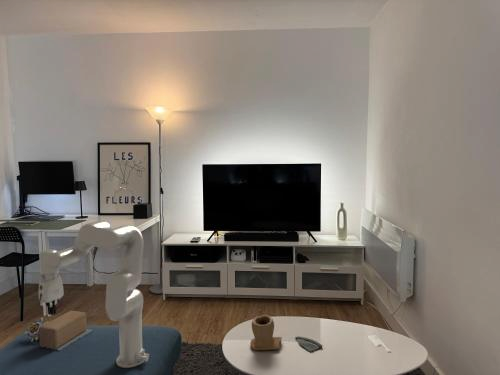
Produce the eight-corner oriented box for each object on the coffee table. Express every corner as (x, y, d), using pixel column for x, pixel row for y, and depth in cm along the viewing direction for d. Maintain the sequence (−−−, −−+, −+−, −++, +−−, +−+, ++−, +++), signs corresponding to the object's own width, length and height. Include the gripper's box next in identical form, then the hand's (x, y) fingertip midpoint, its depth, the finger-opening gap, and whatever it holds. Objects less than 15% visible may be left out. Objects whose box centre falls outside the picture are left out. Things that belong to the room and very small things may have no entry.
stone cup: (250, 354, 154) (249, 322, 154) (250, 341, 166) (250, 311, 165) (283, 354, 154) (283, 322, 153) (281, 341, 166) (281, 311, 165)
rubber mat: (93, 330, 178) (93, 330, 178) (59, 351, 158) (59, 349, 158) (75, 327, 182) (75, 326, 182) (40, 346, 162) (40, 345, 162)
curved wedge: (304, 336, 171) (304, 333, 171) (323, 348, 160) (323, 345, 160) (291, 341, 167) (291, 337, 167) (309, 353, 155) (309, 350, 155)
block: (54, 329, 157) (86, 311, 177) (37, 326, 160) (71, 309, 179) (55, 350, 158) (87, 330, 177) (38, 347, 161) (71, 328, 180)
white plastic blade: (380, 353, 155) (380, 351, 155) (366, 337, 170) (366, 335, 170) (391, 352, 156) (391, 350, 156) (376, 336, 171) (376, 334, 171)
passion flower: (33, 351, 168) (17, 333, 166) (49, 337, 178) (34, 320, 177) (48, 342, 165) (31, 323, 164) (63, 327, 175) (47, 310, 174)
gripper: (41, 281, 151) (43, 321, 152) (69, 272, 165) (71, 308, 166) (29, 280, 154) (31, 319, 155) (57, 270, 168) (59, 307, 169)
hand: (52, 313), depth 161 cm, fingers closed
